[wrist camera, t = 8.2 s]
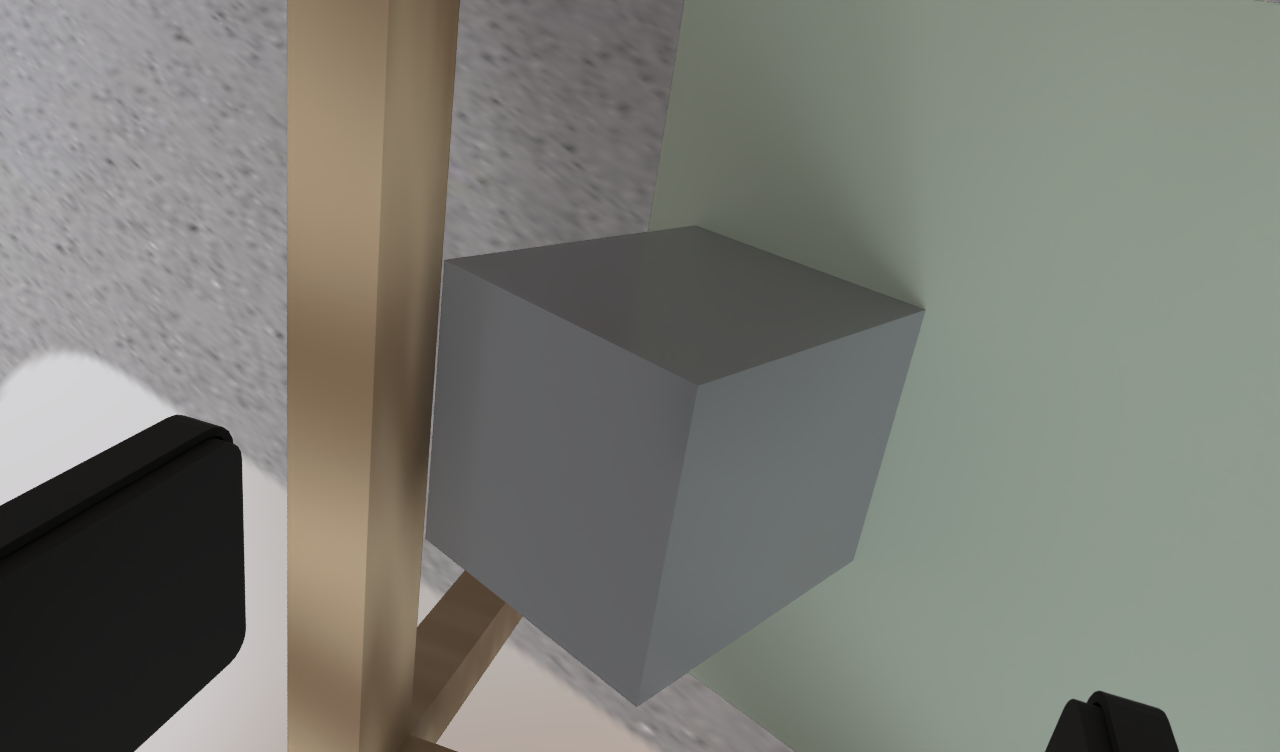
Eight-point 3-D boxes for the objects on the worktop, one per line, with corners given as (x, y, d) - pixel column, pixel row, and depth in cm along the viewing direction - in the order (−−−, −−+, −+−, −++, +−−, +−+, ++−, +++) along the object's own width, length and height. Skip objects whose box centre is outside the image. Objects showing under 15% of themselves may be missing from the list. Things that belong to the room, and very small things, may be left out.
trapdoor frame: (1175, 662, 28) (1406, 1281, 15) (563, 484, 32) (287, 835, 19) (1520, -53, 20) (2764, -195, 7) (653, -169, 24) (287, -408, 11)
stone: (853, 560, 17) (636, 706, 13) (656, 448, 20) (425, 538, 16) (926, 309, 15) (698, 386, 11) (695, 224, 18) (444, 259, 14)
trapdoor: (1456, 1176, 14) (1447, 1329, 12) (617, 585, 24) (547, 622, 22) (2363, 148, 8) (2607, 160, 6) (729, -64, 18) (644, -83, 16)
